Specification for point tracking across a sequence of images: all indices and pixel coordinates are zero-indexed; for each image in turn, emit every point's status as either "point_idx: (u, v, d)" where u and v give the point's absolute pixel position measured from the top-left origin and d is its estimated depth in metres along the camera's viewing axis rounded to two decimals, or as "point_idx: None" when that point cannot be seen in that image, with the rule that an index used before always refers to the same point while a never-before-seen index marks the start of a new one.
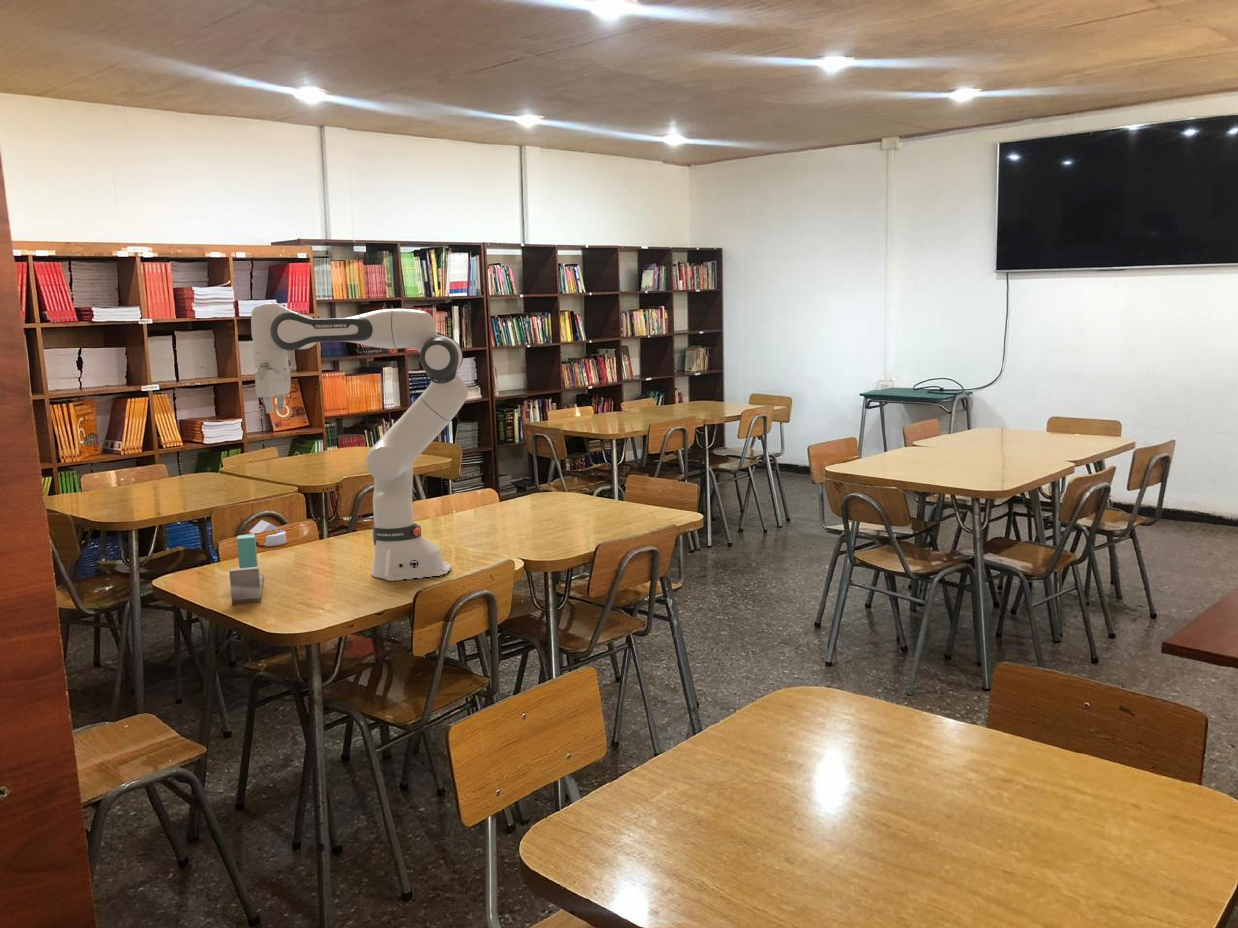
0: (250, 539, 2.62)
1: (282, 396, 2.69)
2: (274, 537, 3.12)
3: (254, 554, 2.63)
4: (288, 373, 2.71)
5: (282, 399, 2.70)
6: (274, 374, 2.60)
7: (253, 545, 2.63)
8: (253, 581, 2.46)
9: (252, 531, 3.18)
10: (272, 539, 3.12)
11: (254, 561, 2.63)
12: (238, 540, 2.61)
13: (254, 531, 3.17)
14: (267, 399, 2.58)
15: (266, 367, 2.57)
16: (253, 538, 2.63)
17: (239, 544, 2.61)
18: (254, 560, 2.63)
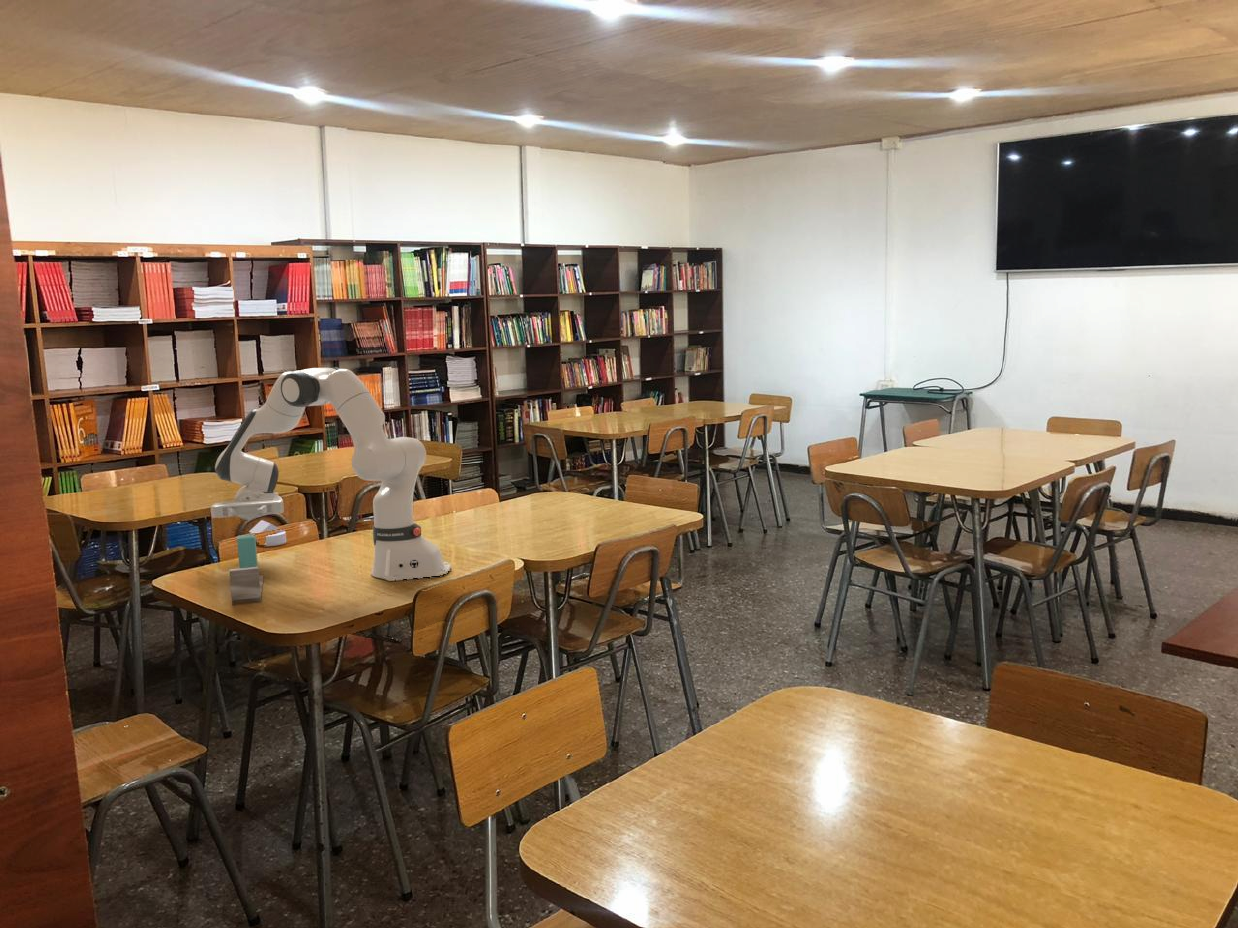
0: (250, 539, 2.62)
1: (261, 506, 2.80)
2: (274, 537, 3.12)
3: (254, 554, 2.63)
4: (275, 497, 2.86)
5: None
6: (234, 501, 2.83)
7: (253, 545, 2.63)
8: (253, 581, 2.46)
9: (252, 531, 3.18)
10: (272, 539, 3.12)
11: (254, 561, 2.63)
12: (238, 540, 2.61)
13: (254, 531, 3.17)
14: (227, 511, 2.77)
15: None
16: (253, 538, 2.63)
17: (239, 544, 2.61)
18: (254, 560, 2.63)
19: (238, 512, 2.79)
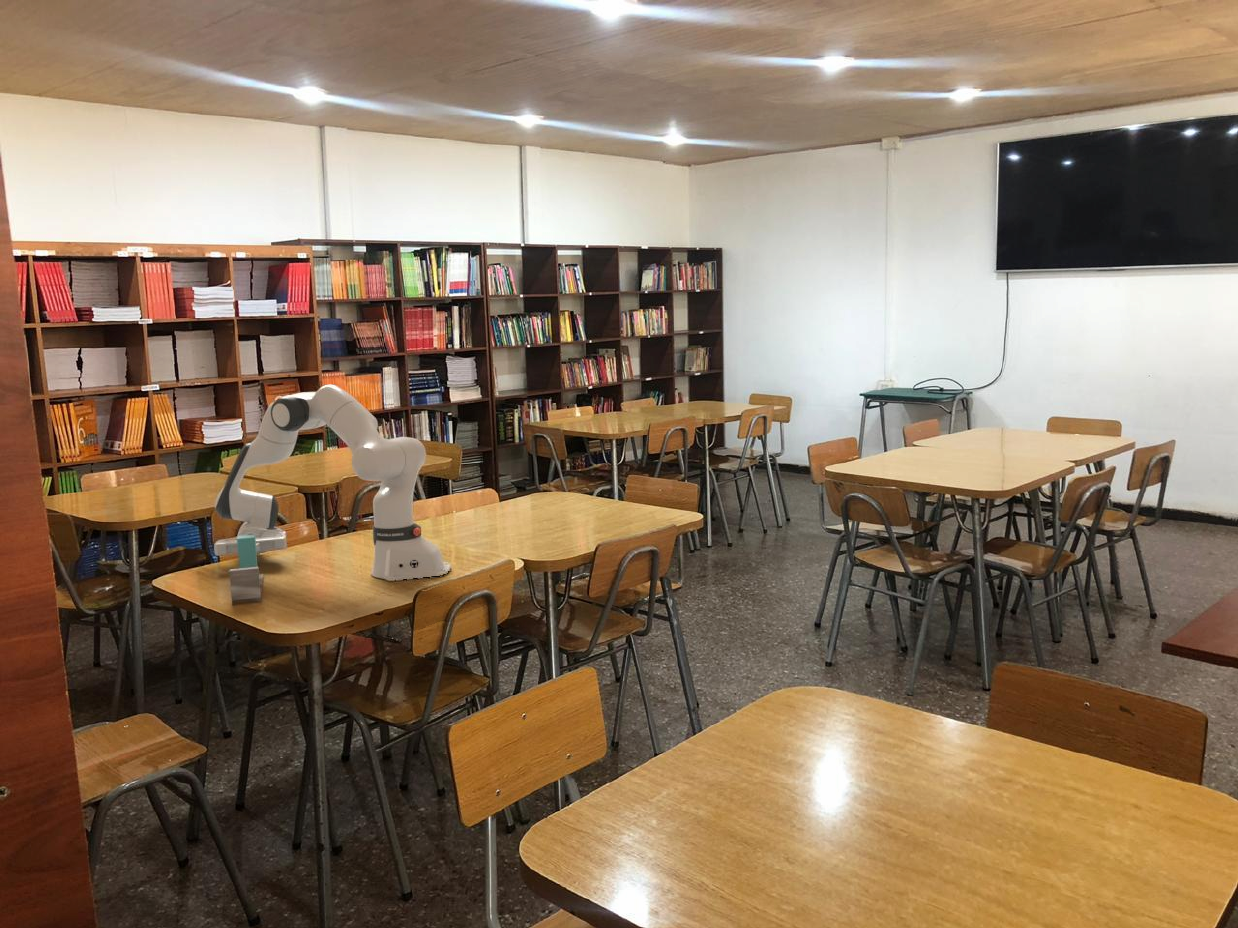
0: (250, 539, 2.62)
1: None
2: None
3: (254, 554, 2.63)
4: (278, 533, 2.87)
5: None
6: None
7: (253, 545, 2.63)
8: (253, 581, 2.46)
9: None
10: None
11: (254, 561, 2.63)
12: (238, 540, 2.61)
13: None
14: None
15: None
16: (253, 538, 2.63)
17: (239, 544, 2.61)
18: (254, 560, 2.63)
19: None
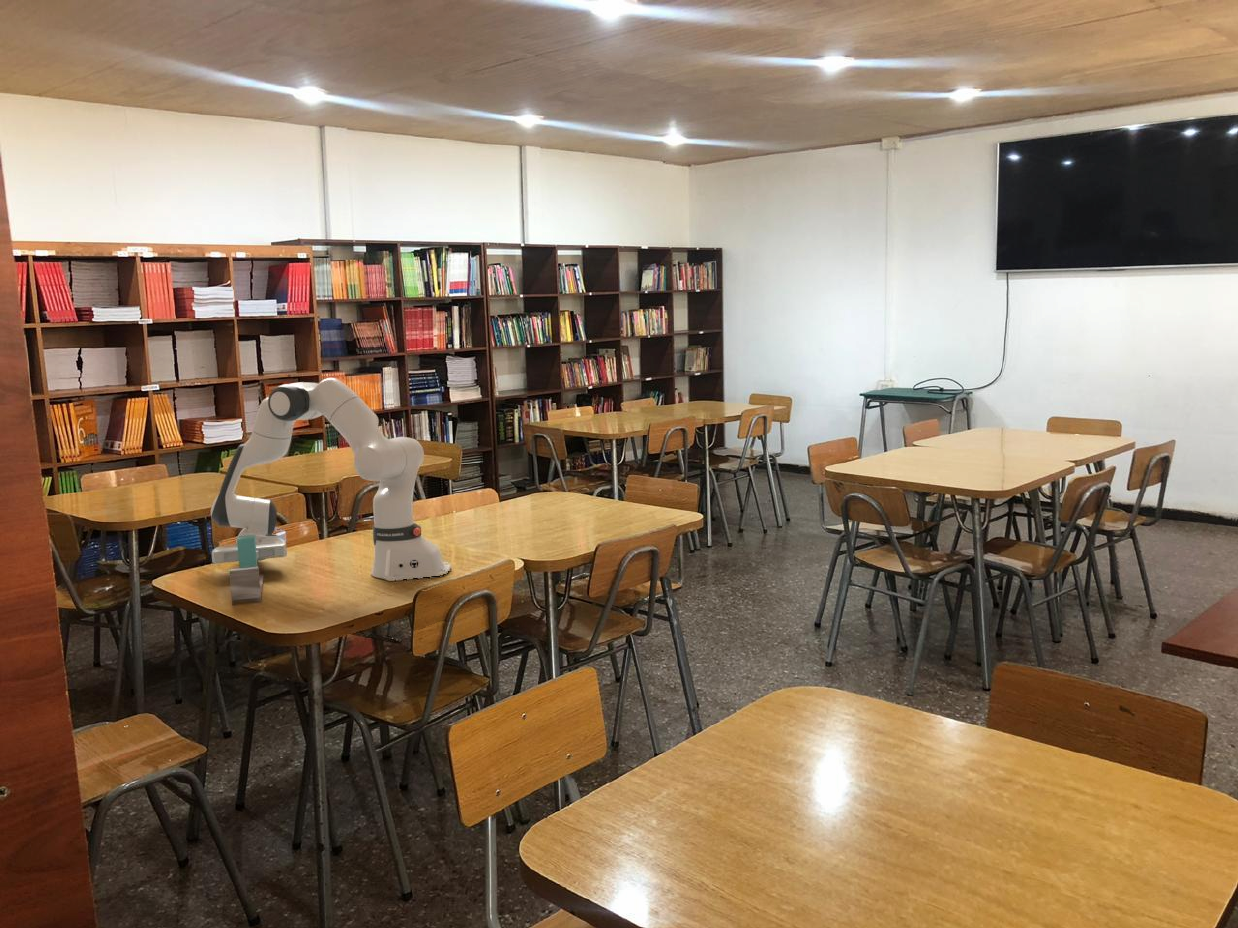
0: (250, 539, 2.62)
1: None
2: None
3: (254, 555, 2.63)
4: (277, 540, 2.78)
5: None
6: (235, 545, 2.75)
7: (253, 545, 2.62)
8: (253, 581, 2.46)
9: None
10: None
11: (254, 562, 2.63)
12: (238, 540, 2.61)
13: None
14: None
15: None
16: (253, 538, 2.62)
17: (239, 544, 2.61)
18: (254, 561, 2.63)
19: None
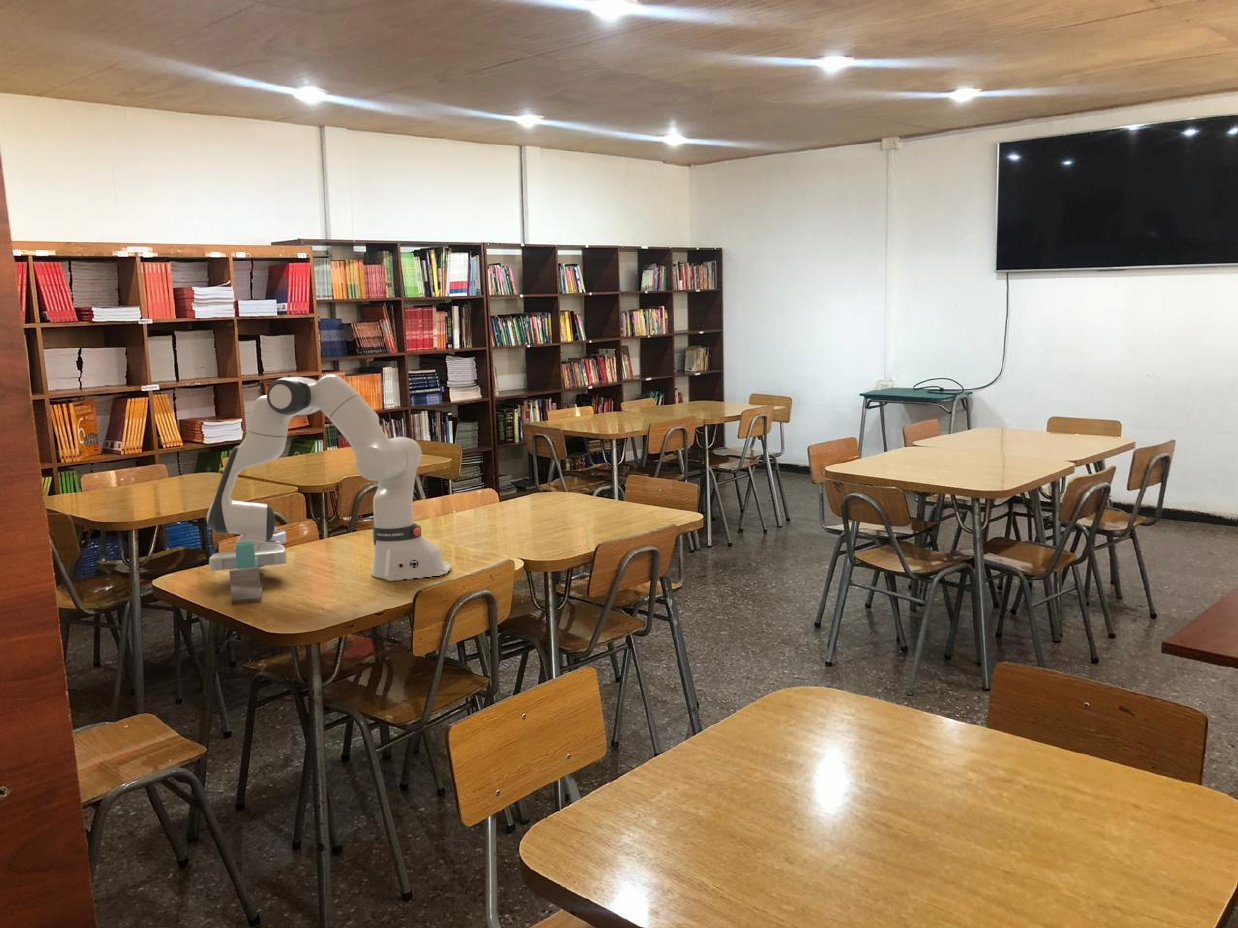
0: (249, 546, 2.53)
1: None
2: (274, 537, 3.12)
3: (253, 562, 2.54)
4: (277, 546, 2.70)
5: None
6: (233, 551, 2.67)
7: (252, 552, 2.54)
8: (253, 581, 2.46)
9: None
10: (272, 539, 3.12)
11: None
12: (236, 547, 2.52)
13: None
14: None
15: None
16: (252, 545, 2.54)
17: (237, 551, 2.53)
18: None
19: None
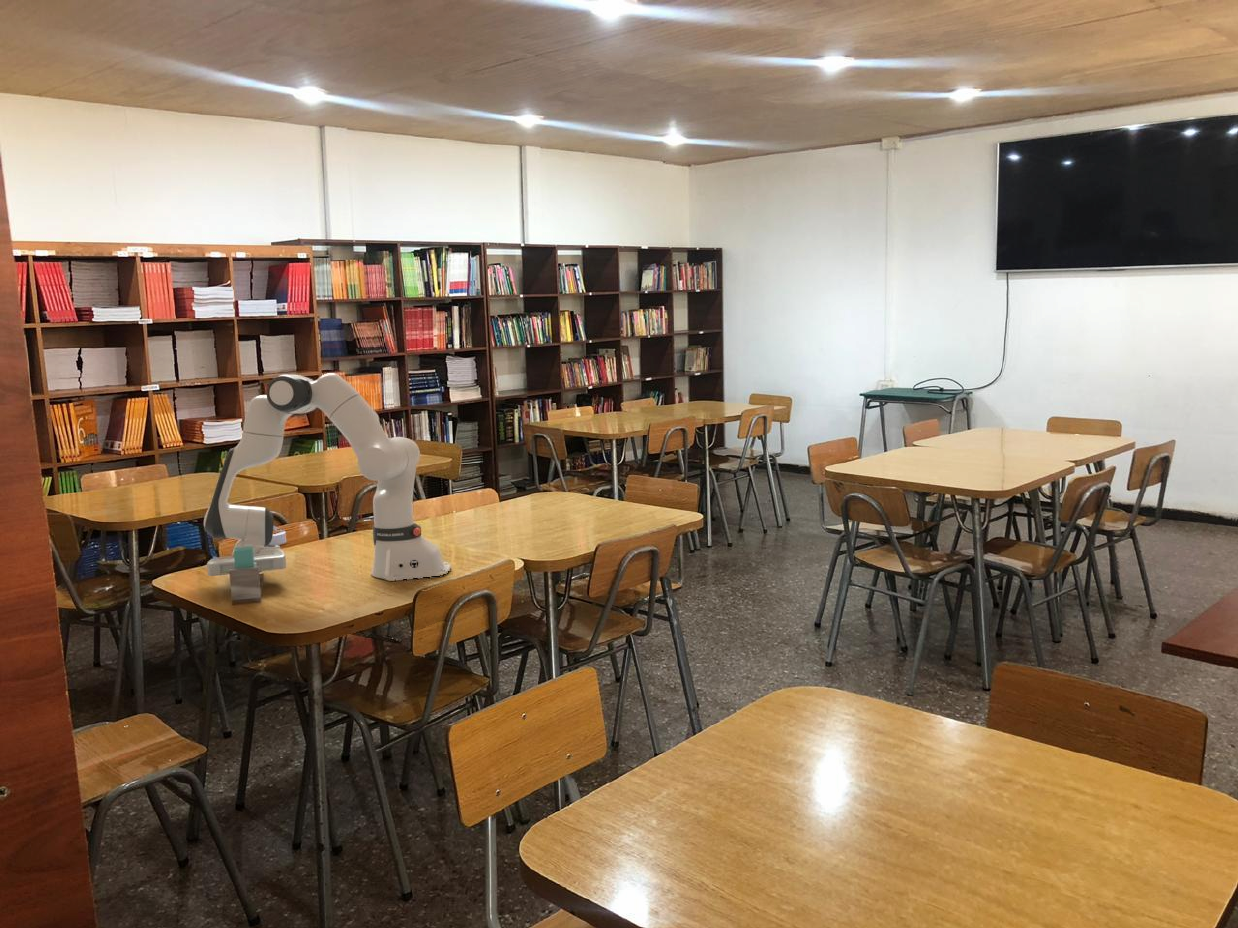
0: (248, 551, 2.48)
1: None
2: (274, 537, 3.12)
3: None
4: (276, 551, 2.64)
5: None
6: (232, 556, 2.61)
7: (251, 558, 2.48)
8: (253, 581, 2.46)
9: None
10: (272, 539, 3.12)
11: None
12: (235, 552, 2.47)
13: None
14: None
15: None
16: (251, 550, 2.48)
17: (236, 557, 2.47)
18: None
19: None
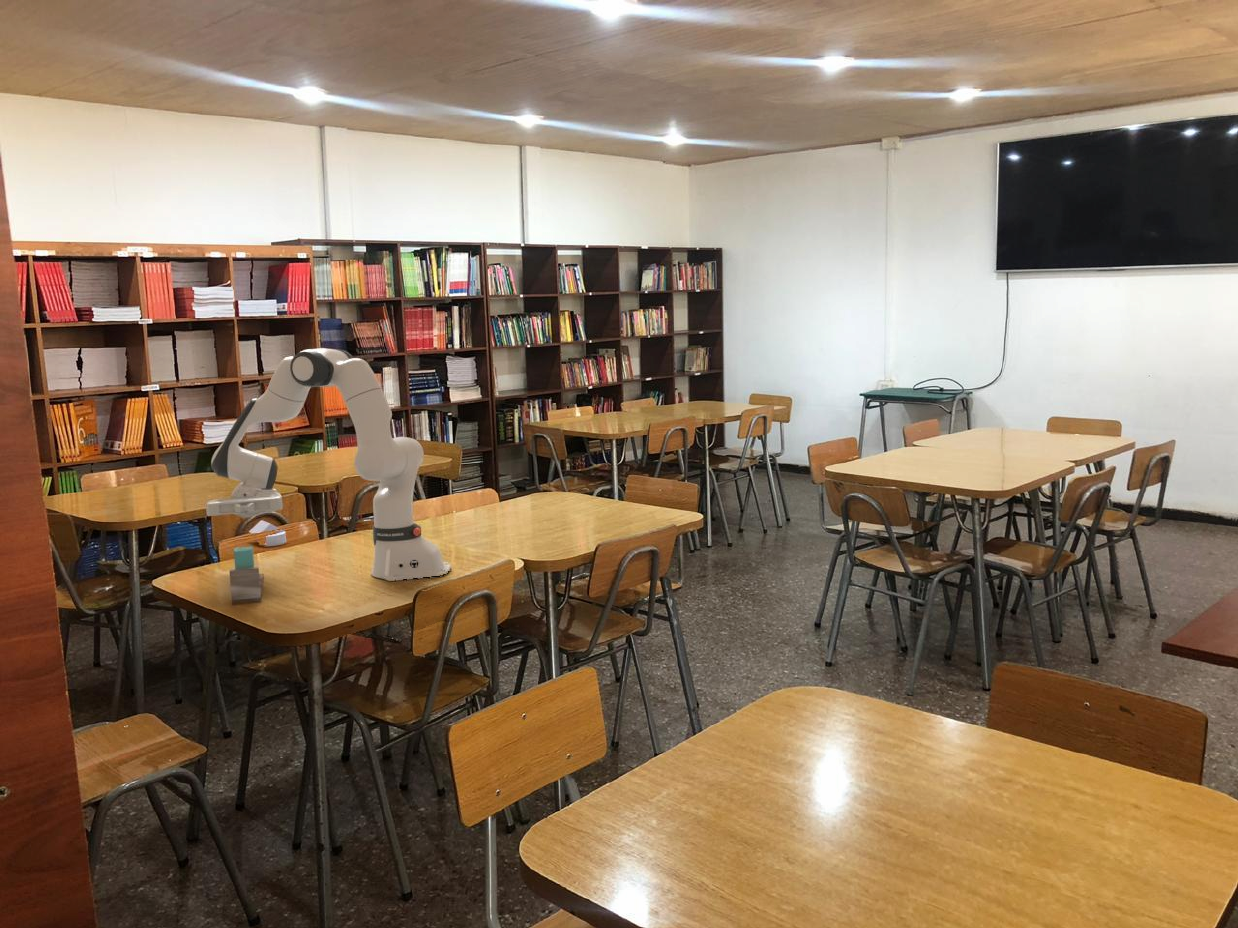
0: (247, 552, 2.47)
1: (248, 504, 2.66)
2: (274, 537, 3.12)
3: None
4: (273, 493, 2.74)
5: None
6: (230, 498, 2.70)
7: (251, 558, 2.48)
8: (253, 581, 2.46)
9: (252, 531, 3.18)
10: (272, 539, 3.12)
11: None
12: (235, 553, 2.46)
13: (254, 531, 3.17)
14: (234, 507, 2.65)
15: None
16: (251, 551, 2.47)
17: (236, 557, 2.46)
18: None
19: (235, 509, 2.66)
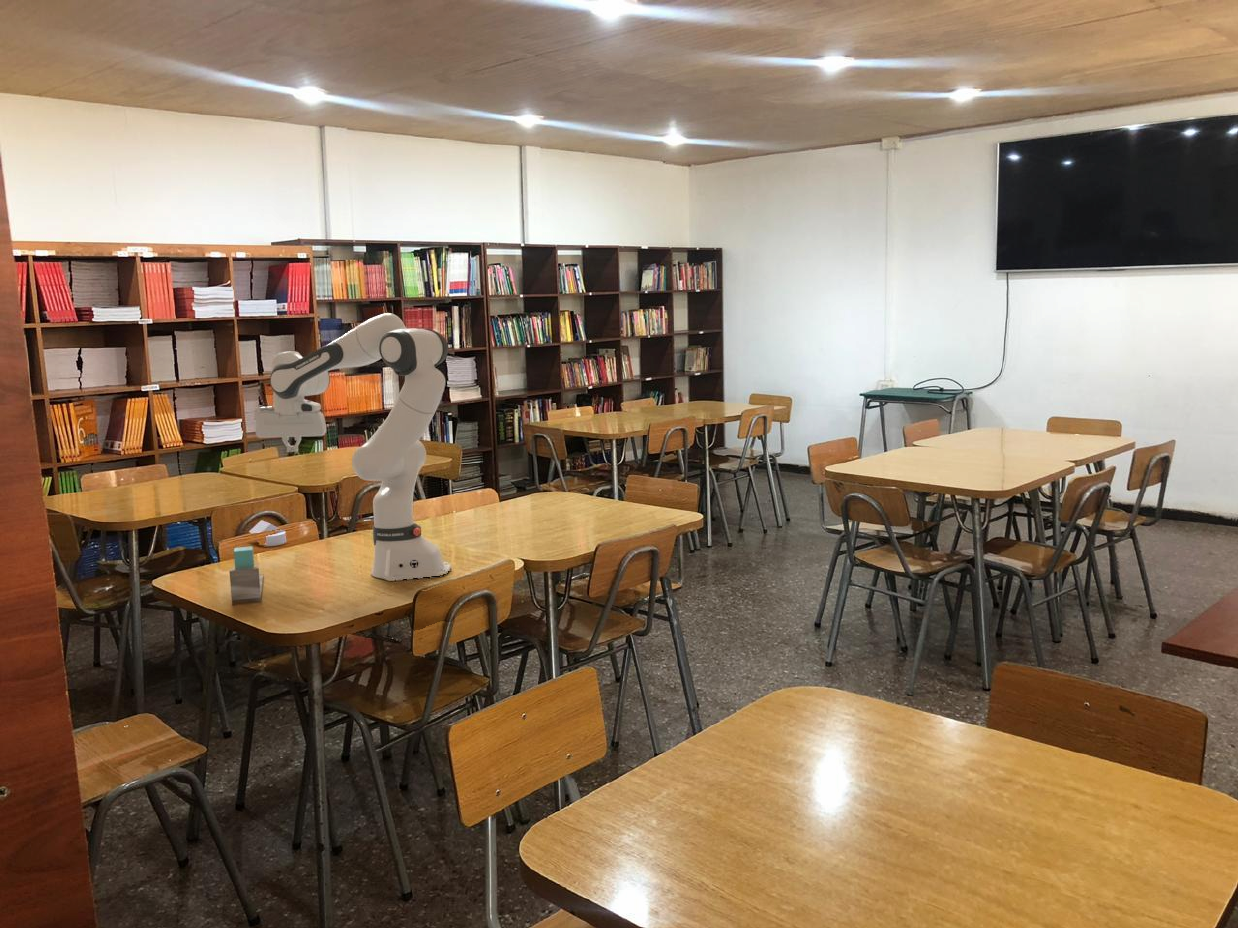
0: (247, 552, 2.47)
1: None
2: (274, 537, 3.12)
3: None
4: (314, 417, 2.81)
5: None
6: (275, 418, 2.81)
7: (251, 558, 2.48)
8: (253, 581, 2.46)
9: (252, 531, 3.18)
10: (272, 539, 3.12)
11: None
12: (235, 553, 2.46)
13: (254, 531, 3.17)
14: None
15: (269, 410, 2.82)
16: (251, 551, 2.47)
17: (236, 557, 2.46)
18: None
19: None
